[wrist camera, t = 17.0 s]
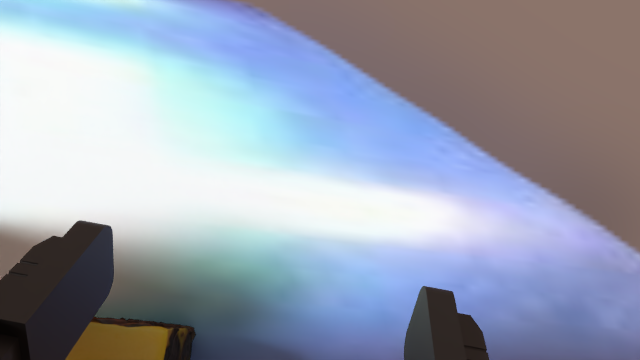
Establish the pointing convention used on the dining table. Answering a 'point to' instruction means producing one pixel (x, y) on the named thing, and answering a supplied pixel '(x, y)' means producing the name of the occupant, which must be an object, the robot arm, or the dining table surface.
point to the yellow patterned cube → (133, 341)
